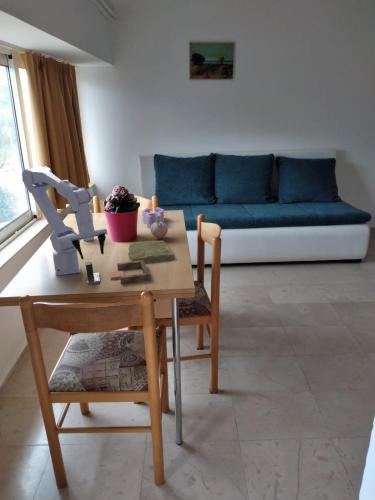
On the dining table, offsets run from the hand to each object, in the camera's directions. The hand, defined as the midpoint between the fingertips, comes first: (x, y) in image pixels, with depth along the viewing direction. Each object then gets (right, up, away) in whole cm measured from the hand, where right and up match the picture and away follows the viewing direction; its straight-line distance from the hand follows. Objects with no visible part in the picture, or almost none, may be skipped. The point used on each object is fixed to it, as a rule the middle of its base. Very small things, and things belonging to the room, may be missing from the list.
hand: (92, 256), depth 141 cm
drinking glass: (-14, +8, +48) cm, 51 cm away
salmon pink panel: (+8, -9, +6) cm, 13 cm away
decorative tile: (+19, 0, +27) cm, 33 cm away
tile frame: (+14, -7, +7) cm, 17 cm away
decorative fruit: (+22, +8, +47) cm, 52 cm away
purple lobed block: (+17, +18, +73) cm, 77 cm away
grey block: (0, -9, +3) cm, 10 cm away
